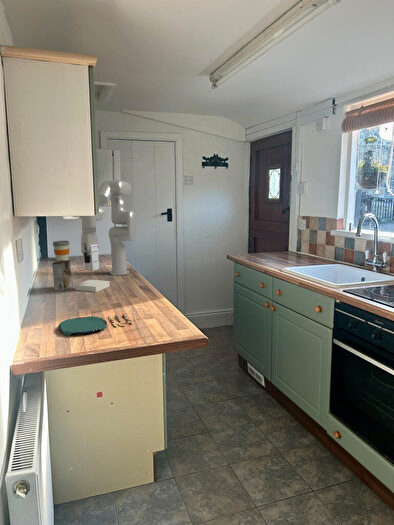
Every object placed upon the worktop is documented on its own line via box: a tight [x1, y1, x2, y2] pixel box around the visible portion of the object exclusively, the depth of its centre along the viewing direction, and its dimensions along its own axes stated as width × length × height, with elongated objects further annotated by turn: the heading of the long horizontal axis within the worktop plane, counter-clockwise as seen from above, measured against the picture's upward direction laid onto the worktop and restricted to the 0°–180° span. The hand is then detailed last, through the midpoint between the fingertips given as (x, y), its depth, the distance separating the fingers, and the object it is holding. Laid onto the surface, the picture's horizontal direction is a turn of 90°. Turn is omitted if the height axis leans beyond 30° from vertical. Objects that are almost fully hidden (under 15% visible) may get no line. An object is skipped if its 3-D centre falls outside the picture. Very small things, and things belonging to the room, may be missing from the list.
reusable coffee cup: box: [52, 240, 70, 262], centre depth 330 cm, size 13×13×15 cm
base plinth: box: [74, 279, 110, 293], centre depth 240 cm, size 14×14×3 cm
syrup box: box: [84, 244, 100, 272], centre depth 236 cm, size 6×6×14 cm
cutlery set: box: [57, 314, 132, 337], centre depth 175 cm, size 20×30×2 cm, turn 114°
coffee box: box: [51, 259, 73, 291], centre depth 239 cm, size 9×6×16 cm
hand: (90, 261), depth 237 cm, fingers closed on syrup box, 6 cm apart
